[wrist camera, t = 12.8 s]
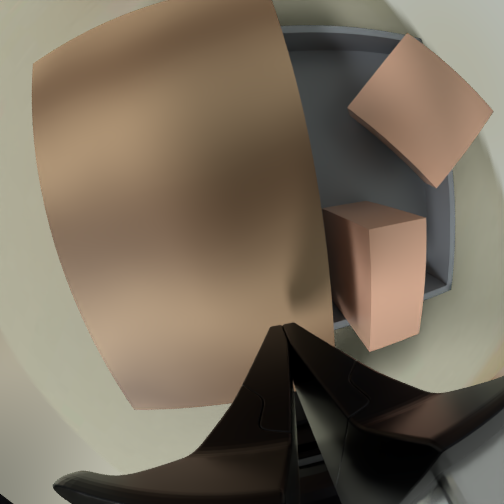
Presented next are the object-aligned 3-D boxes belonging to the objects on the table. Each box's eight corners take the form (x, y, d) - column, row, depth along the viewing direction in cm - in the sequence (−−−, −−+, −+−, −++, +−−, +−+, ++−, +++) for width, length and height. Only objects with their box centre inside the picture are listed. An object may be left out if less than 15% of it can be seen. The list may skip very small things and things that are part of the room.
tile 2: (347, 107, 11) (349, 115, 14) (436, 188, 11) (424, 182, 14) (407, 32, 8) (401, 50, 11) (493, 111, 8) (474, 116, 10)
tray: (427, 274, 18) (451, 289, 15) (302, 310, 18) (314, 335, 15) (398, 52, 13) (420, 38, 10) (253, 50, 13) (257, 27, 10)
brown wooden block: (302, 310, 18) (335, 380, 11) (160, 337, 18) (134, 409, 11) (253, 50, 13) (265, -16, 6) (97, 94, 13) (33, 63, 6)
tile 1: (331, 298, 17) (371, 288, 17) (369, 351, 12) (418, 333, 12) (321, 208, 16) (366, 200, 16) (368, 229, 10) (426, 217, 10)
